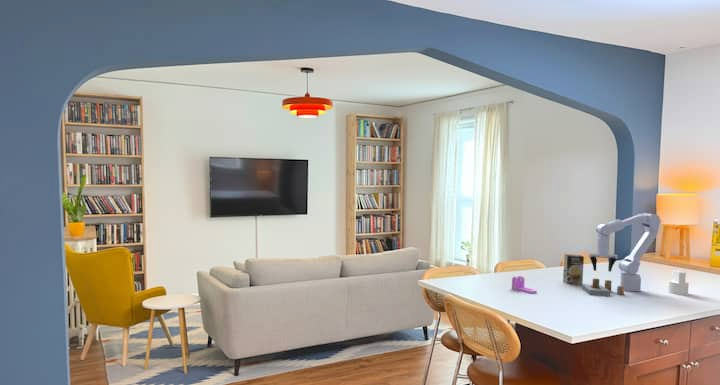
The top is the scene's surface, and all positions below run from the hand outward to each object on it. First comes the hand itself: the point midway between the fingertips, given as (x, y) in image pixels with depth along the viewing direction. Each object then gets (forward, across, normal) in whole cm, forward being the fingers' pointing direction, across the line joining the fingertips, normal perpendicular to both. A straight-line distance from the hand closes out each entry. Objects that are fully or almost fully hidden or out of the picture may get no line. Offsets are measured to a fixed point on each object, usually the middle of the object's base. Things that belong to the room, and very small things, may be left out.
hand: (602, 270), depth 268 cm
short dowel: (+10, -6, +11) cm, 16 cm away
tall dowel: (+10, +6, +10) cm, 15 cm away
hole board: (+10, +6, +10) cm, 15 cm away
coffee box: (+10, +12, -12) cm, 20 cm away
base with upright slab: (+10, -39, -1) cm, 40 cm away
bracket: (+10, +43, +18) cm, 48 cm away
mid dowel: (+10, -2, +4) cm, 11 cm away
